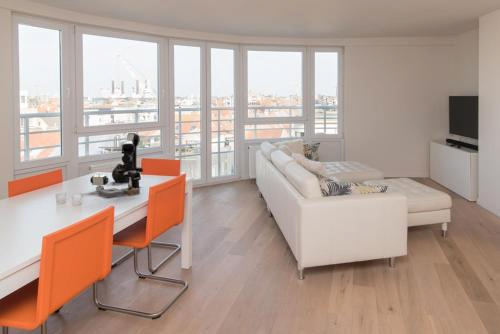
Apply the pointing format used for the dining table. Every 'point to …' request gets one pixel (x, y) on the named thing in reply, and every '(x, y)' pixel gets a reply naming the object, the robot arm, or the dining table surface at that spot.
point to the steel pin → (130, 184)
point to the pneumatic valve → (99, 181)
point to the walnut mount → (131, 191)
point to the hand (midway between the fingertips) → (129, 183)
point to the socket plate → (111, 192)
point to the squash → (118, 176)
